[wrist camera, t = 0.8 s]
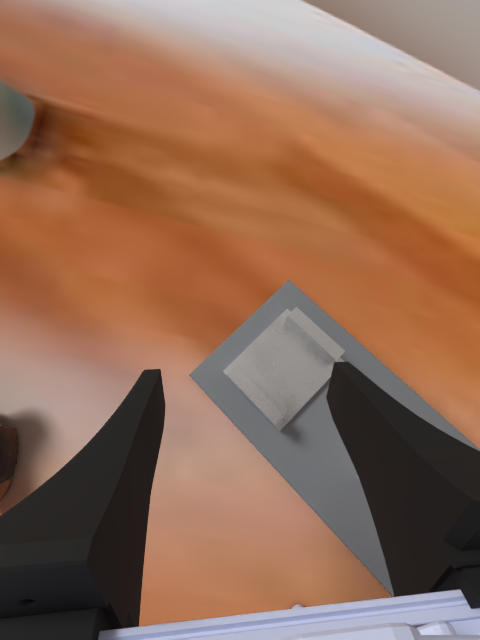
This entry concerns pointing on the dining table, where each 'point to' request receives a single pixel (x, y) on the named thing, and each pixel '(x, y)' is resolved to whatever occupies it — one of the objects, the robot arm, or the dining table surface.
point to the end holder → (285, 366)
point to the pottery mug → (7, 457)
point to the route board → (314, 427)
